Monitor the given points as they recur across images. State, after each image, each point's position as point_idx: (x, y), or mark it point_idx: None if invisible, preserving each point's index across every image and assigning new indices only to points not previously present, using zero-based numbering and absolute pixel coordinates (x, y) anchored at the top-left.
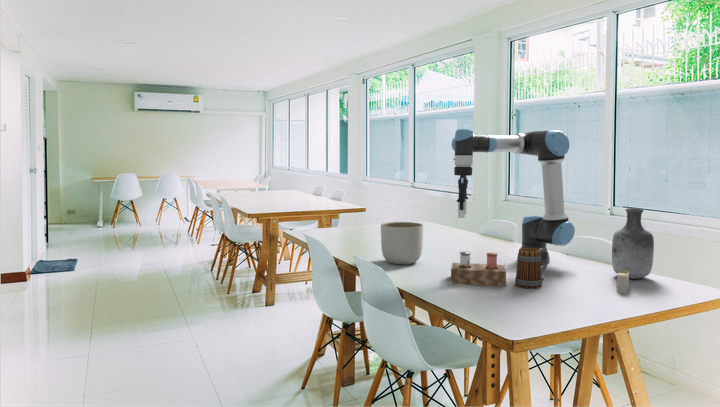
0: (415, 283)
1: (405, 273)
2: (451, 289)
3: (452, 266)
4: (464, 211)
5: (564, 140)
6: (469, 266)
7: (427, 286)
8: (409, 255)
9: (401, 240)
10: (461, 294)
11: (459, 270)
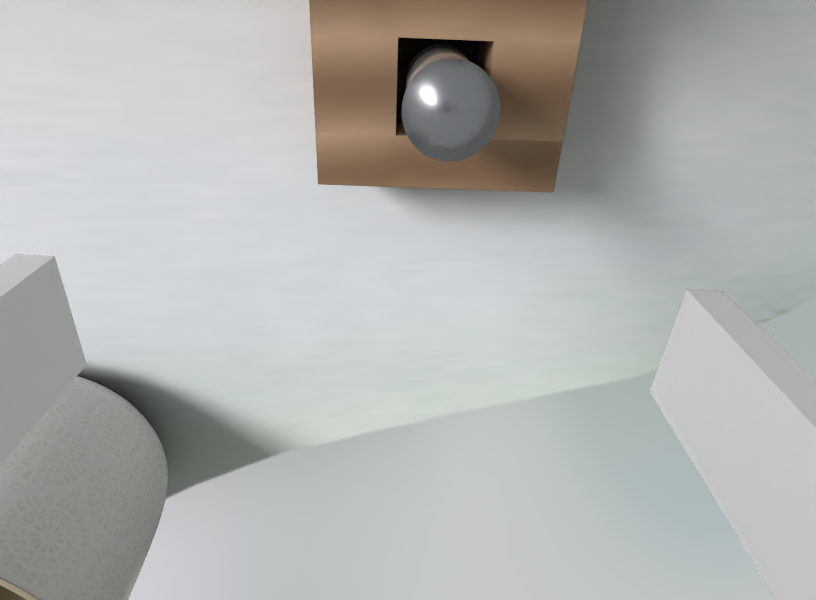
0: (538, 336)
1: (330, 392)
2: (669, 157)
3: (454, 183)
4: (801, 375)
5: None
6: (458, 53)
7: (599, 280)
8: (134, 433)
9: (125, 547)
10: (788, 98)
11: (562, 132)
